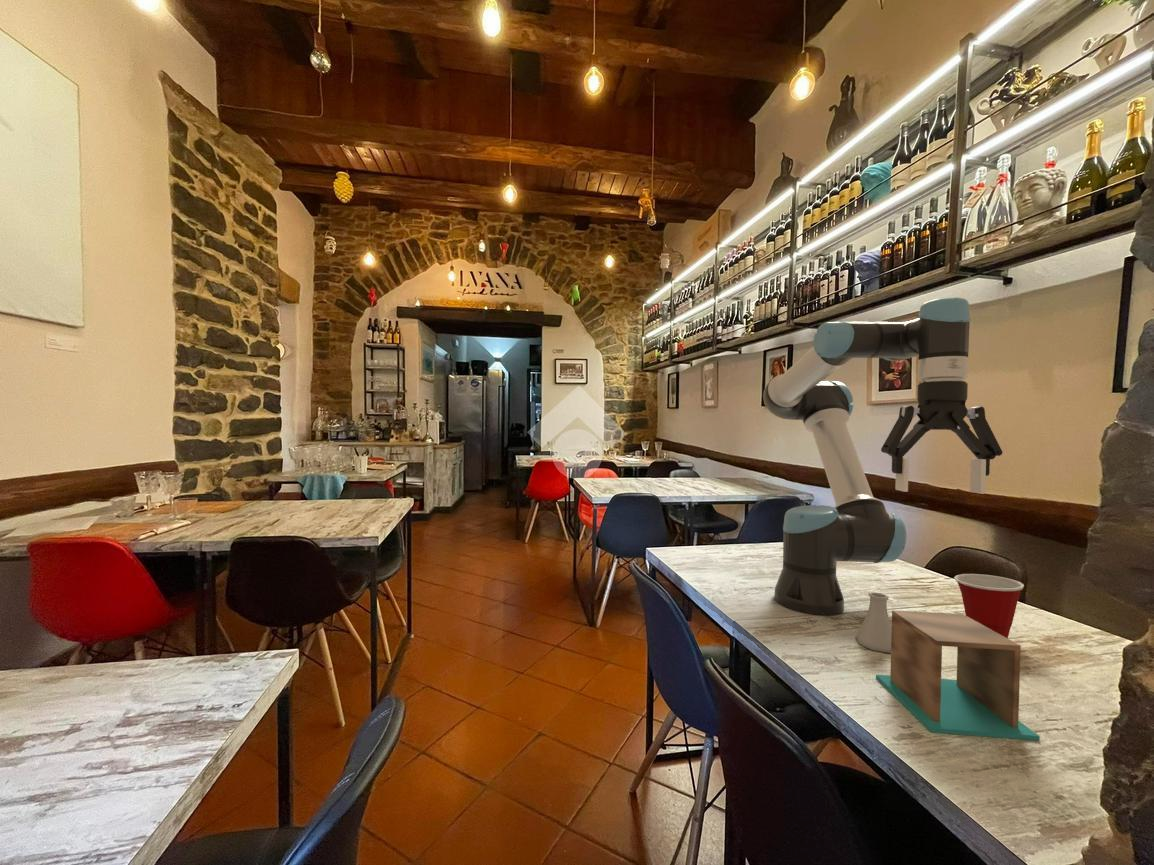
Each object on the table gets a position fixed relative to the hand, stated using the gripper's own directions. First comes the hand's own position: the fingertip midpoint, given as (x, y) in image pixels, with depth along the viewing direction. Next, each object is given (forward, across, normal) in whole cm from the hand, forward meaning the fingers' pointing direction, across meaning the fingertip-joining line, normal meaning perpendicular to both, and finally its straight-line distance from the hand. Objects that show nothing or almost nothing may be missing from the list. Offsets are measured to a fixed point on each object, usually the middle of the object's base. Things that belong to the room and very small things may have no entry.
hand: (939, 492), depth 88 cm
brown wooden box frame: (+30, -10, -19) cm, 37 cm away
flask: (+31, -10, +1) cm, 33 cm away
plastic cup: (+31, +15, +8) cm, 35 cm away
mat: (+31, -10, -19) cm, 37 cm away
